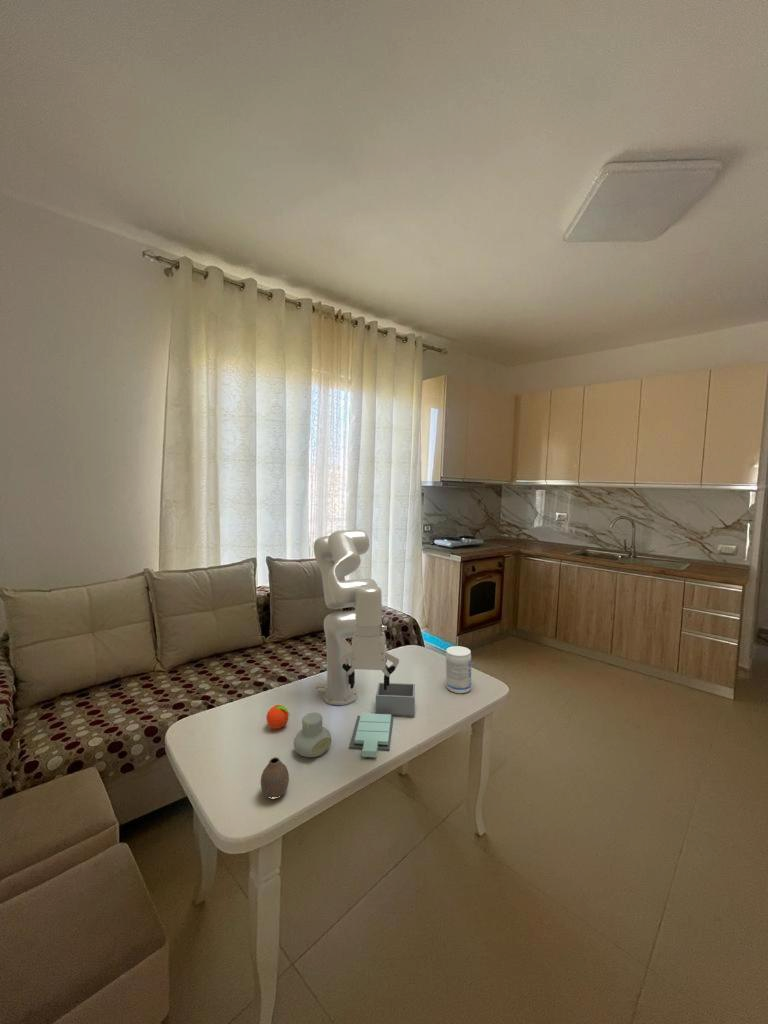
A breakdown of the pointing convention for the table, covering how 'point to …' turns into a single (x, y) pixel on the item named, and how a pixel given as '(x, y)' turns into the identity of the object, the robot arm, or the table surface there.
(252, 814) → the table surface
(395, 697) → the tub
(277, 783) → the vase
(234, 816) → the table surface
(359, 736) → the lid
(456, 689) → the supplement tub
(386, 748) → the mat
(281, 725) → the clementine
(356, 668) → the robot arm
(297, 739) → the air freshener
